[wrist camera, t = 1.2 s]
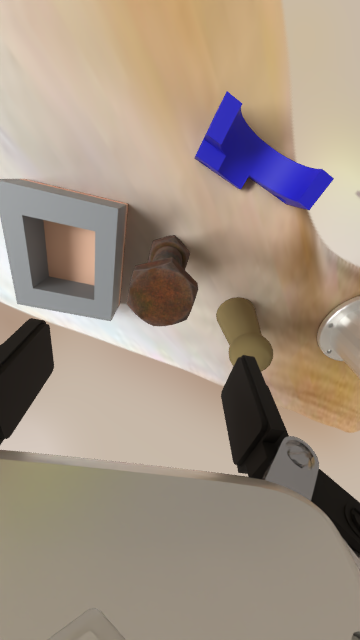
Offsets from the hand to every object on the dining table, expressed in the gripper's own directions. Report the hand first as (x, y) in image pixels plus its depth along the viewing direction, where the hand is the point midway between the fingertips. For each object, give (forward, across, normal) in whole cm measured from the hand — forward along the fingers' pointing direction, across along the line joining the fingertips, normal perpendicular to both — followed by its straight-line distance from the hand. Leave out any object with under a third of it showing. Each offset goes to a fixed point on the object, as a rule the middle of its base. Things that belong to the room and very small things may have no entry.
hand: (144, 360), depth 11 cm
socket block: (+22, +12, +3) cm, 25 cm away
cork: (+22, -12, +8) cm, 27 cm away
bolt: (+22, 0, 0) cm, 22 cm away
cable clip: (+22, -8, -10) cm, 26 cm away
